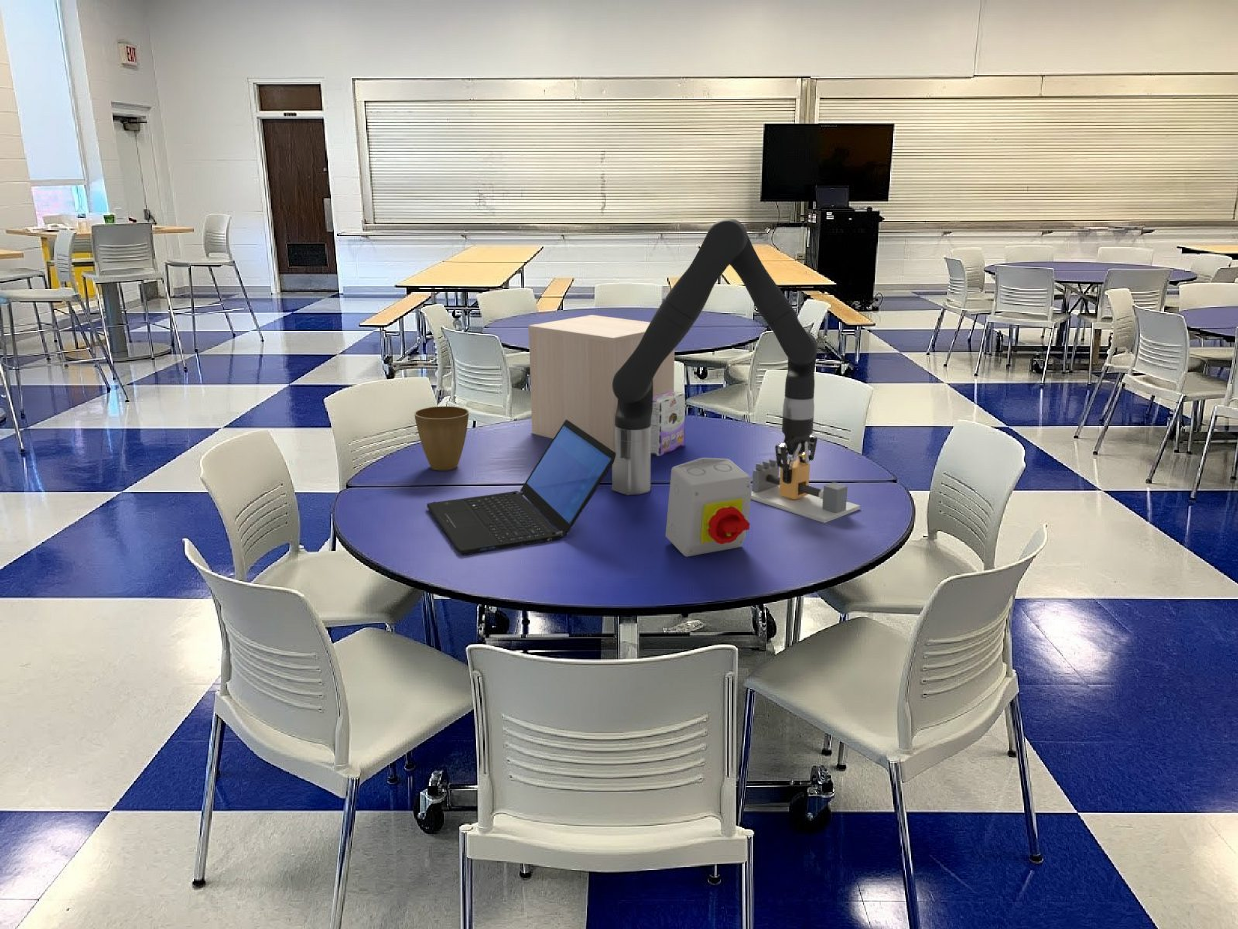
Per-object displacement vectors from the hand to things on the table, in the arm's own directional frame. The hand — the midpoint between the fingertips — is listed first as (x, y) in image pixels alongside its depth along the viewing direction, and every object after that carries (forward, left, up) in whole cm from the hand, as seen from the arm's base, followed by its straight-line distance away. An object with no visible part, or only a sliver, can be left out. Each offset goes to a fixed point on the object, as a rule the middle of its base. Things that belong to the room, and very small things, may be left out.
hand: (794, 480), depth 236 cm
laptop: (-59, +35, -6) cm, 69 cm away
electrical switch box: (-39, -8, -6) cm, 40 cm away
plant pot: (-50, +84, -6) cm, 98 cm away
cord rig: (0, -2, -5) cm, 6 cm away
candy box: (+8, +55, -6) cm, 56 cm away
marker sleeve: (0, 0, -4) cm, 4 cm away
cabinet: (+6, +81, -6) cm, 81 cm away
